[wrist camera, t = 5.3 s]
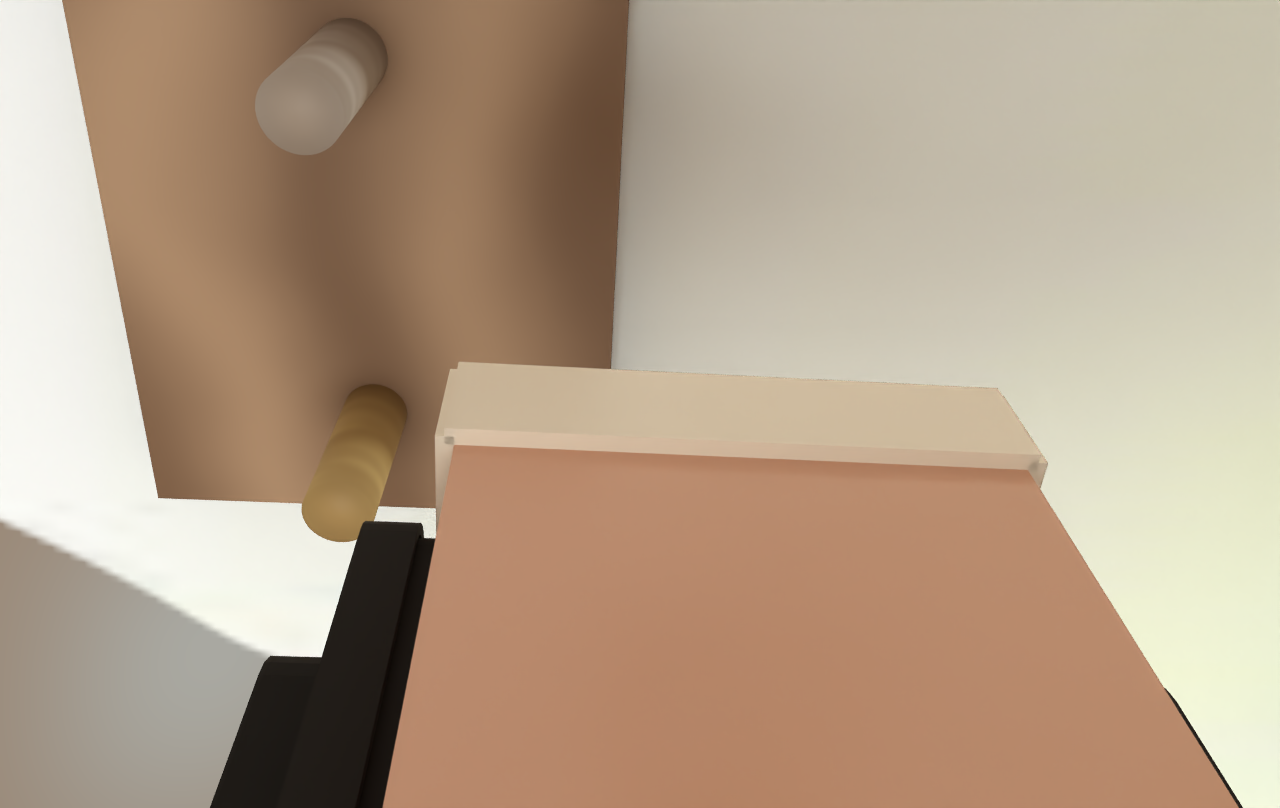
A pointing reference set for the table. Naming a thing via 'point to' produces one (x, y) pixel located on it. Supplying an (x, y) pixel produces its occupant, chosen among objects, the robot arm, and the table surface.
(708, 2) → the table surface
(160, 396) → the pin board
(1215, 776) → the sleeve
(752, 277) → the table surface
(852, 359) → the table surface
